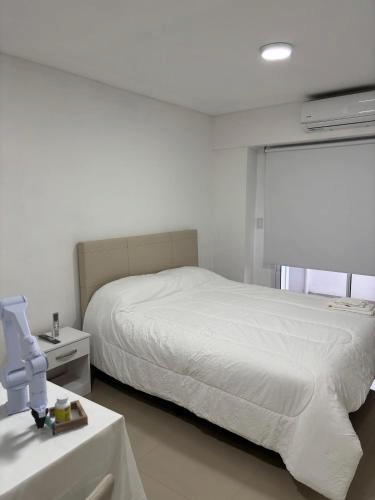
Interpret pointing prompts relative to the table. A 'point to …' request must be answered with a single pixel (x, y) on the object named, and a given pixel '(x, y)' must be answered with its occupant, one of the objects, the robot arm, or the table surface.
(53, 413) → the brown frame
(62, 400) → the supplement bottle
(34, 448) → the table surface
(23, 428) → the table surface
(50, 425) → the swing gate
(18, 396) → the robot arm
